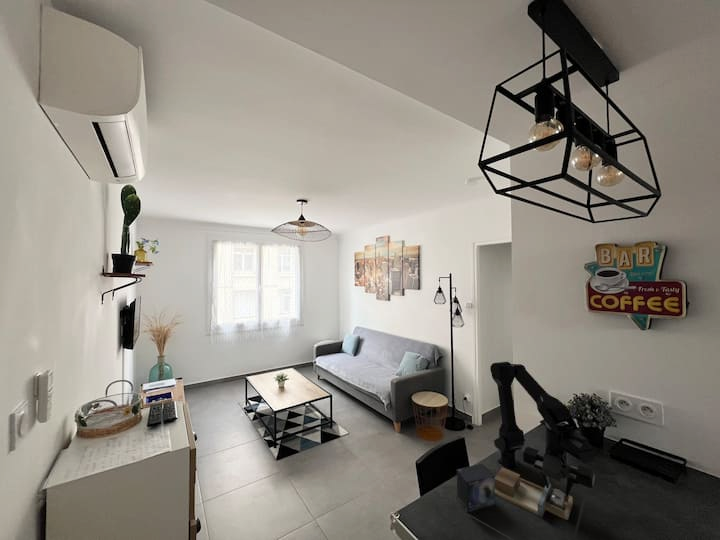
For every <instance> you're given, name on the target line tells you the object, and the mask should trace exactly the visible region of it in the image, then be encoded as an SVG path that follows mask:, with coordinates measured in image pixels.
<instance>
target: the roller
mask: <svg viewBox="0 0 720 540" xmlns="http://www.w3.org/2000/svg"><path fill="white" fill-rule="evenodd" d="M553 489H554V490H553V491H552V494H551V497H550V501H549V503H550V504H552V505H554V506H556V507H558V508H560V509H562V510H563V506H564V502H565V495H564V492H563V491H562V490H560V489H558V488H553Z"/></svg>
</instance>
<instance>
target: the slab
mask: <svg viewBox="0 0 720 540" xmlns="http://www.w3.org/2000/svg"><path fill="white" fill-rule="evenodd" d="M520 478H521V474H519V473H517V472H515V471H512V470H510V469H509V468H506V467H504V466H503V467H501V468H500V470H499V471H498V472H497V474H496V475H495V478H494V480H495V489H496V490H499V491H501V492H503V493H505V494H507V495H509V496H511V497H514V495H515V493H516V491H517V490H518V488H519V486H520Z"/></svg>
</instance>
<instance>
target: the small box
mask: <svg viewBox="0 0 720 540" xmlns="http://www.w3.org/2000/svg"><path fill="white" fill-rule="evenodd" d="M495 477H496V475H495V474H493V472H492V471H491V470H489V468H488V467H487V466H485V464H483V463H480V464H475V465H469V466H465V467H462V468H461V467H460V468H457V469H456V499H457V501H458V502H459V503H460V504H461V506H462V507H463V509H465V511H466V514H469V513H470V512H475V511H477V510H478V511H479V510H482V509H486V508H489V507H492V506H495V505H496V500H495V498H496V495H495V480H494V478H495Z"/></svg>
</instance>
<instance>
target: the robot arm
mask: <svg viewBox="0 0 720 540" xmlns="http://www.w3.org/2000/svg"><path fill="white" fill-rule="evenodd" d="M489 367H490V369H489V371H490V372H491V378H492V380H493V381H494V383H496V385H497V391H498V401H499V407H500V408H499V409H500V414H501V415H500V416H501V425H500V427H499V428H498V437H497V438H496V439H494V440H493V443H494V447H495V448H496V449H497V450H498V451H499V454H500V455H499V456H500V458H499V459H498V460H497V464H499V465H502V466H503V467H504V468H506V469H511V470H513V471H515V470H516V469H517V467H518V466H519V464H520V461H518V460H517V451H518V450H520V451H521V450H522V448H523V446H524V445H525V442H526V439H525V433H524V430H523V429H521V428H520V426H518V424H517V419H516V418H517V417H516V411H515V406H514V405H515V404H514V403H515V402H514V397H513V389H512V385H513V382H514V379H515V380H516V381H517V382H518V383H519V384H520V386H522V388H523V389H524V391H526V392H527V394H528V395H529V396H530V397H531V398H532V400H533V401H534V403H535V404H536V408H537V411H538V412H539V415H540V416H541V417H542V418H543V419H542V420H539V423H540V424H541V425H542V426H544V427H545V452H544V454H543V455H541V453H540V450H538V449H536V448H533V447H530V446H527V447H525V449H524V450H523V453H522V461H523V462H524V463H526V464H529V465H530V466H533V468H534V469H536V470H537V471H539V473H540V474H541V476H542V479H543V481H544V484H545V486H546V487H547V488H549V483H550V479H554V480H555V481H557V482H561V481H562V479H564V480H565V479H566V485H565V486H566V489H565V494H566V497H568V495H570V492H571V489H572V488H573V486H574V485H577V486H579V485H582V486H583V487H587V488H589V489H593V487H594V484H595V472H594V470H593V469H591V468H588V467H585V466H583V465H581V464H584V465H585V464H590V463H591V462H592V461H593V459H594V457H595V452H596V450H595V449H594V447H593V445H592V444H591V443H589V438H587V437H585V436H582V435H580V434H579V433H577V432H579V430H580V429H579V427H578V426H577V422H576V421H575V420H574V418H573V416H572V414H571V412H570V409H569V408H568V407H567V405H565V404H564V403H563V402H562V401H561V400H559V399H558V398H556V397H554V396H552V395H550V394H549V393H548V392H547V391H546V390H545V389H544V388H543V387H542V385H540V384H539V382H538V381H537V380H536V379H535V378H534V377H533V375H531V374H530V372H529V371H528V370H527V369H526V367H525V365H524V364H521V363H519V364H518V363H510V362H509V361H500V362H493V363H492V364H491V365H490V366H489ZM565 423H567V424H565ZM560 424H564V425H560ZM568 454H569V455H570V456H572V457H574V459H576V460H578V462H581V464H578V466H577V467H575V466H572V465H570V466H569V465H568Z"/></svg>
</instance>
